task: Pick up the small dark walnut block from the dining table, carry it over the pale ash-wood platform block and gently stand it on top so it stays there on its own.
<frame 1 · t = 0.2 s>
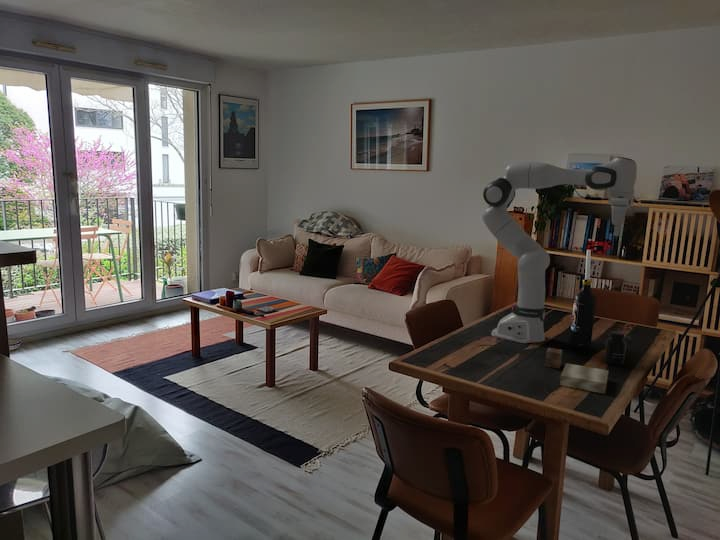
hand: (616, 234, 216), 48 cm above the table, tool pointing down, fingers open, 8 cm apart
ash platform: (584, 383, 188), on the table
walnut block: (552, 365, 204), on the table
supplement bottle: (613, 363, 209), on the table
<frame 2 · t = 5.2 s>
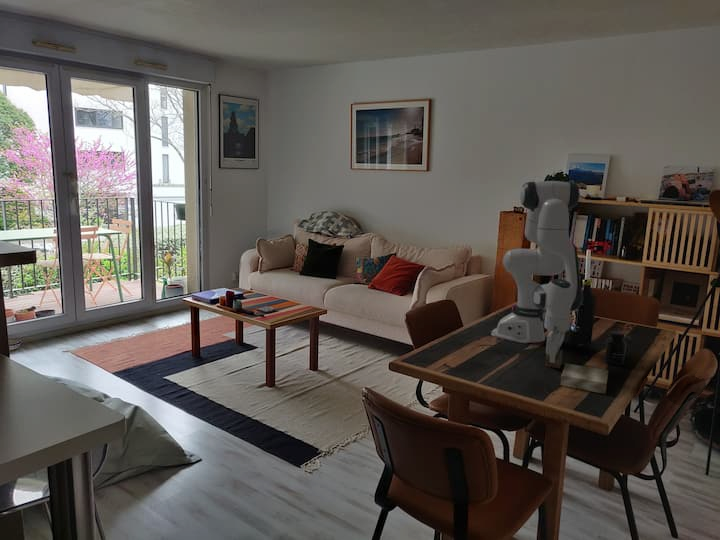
hand: (553, 359, 204), 2 cm above the table, tool pointing down, fingers closed on walnut block, 5 cm apart
walnut block: (553, 365, 204), on the table, touching gripper
everything else where it was.
when the fingers open (7 cm above the table, at t = 12.9 s): walnut block drops 1 cm, point 3 cm above the table.
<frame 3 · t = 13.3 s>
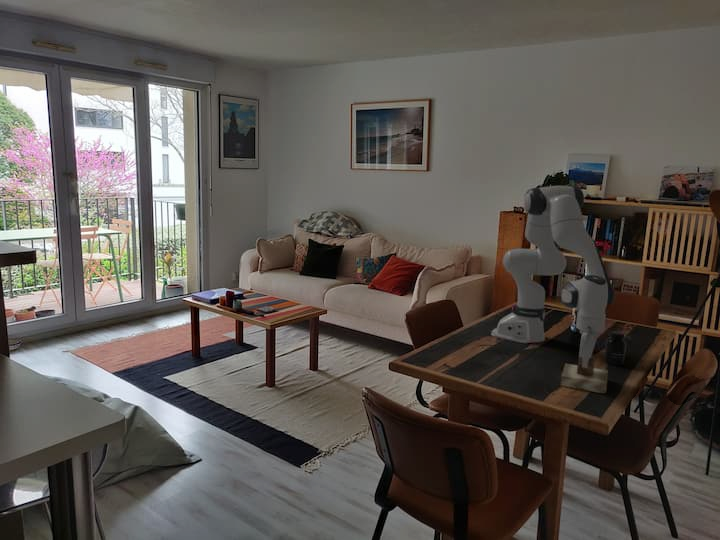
hand: (586, 362, 187), 7 cm above the table, tool pointing down, fingers open, 8 cm apart
walnut block: (585, 372, 188), point 3 cm above the table
everything else where it was.
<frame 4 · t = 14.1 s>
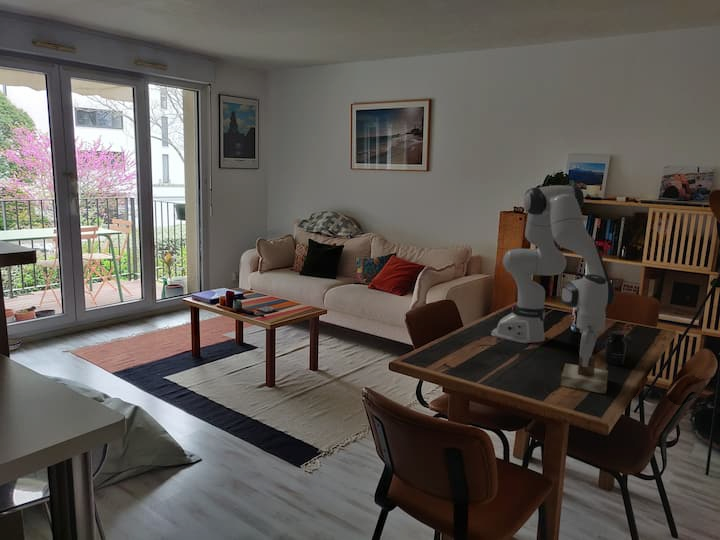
hand: (586, 362, 187), 7 cm above the table, tool pointing down, fingers open, 8 cm apart
nothing on the table moved.
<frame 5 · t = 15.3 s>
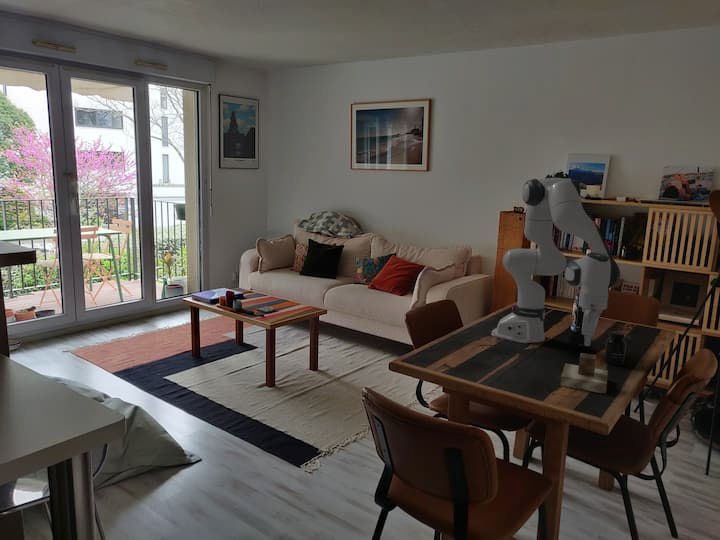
hand: (588, 341, 186), 15 cm above the table, tool pointing down, fingers open, 8 cm apart
ash platform: (583, 384, 188), on the table, touching walnut block
walnut block: (586, 372, 188), point 3 cm above the table, touching ash platform
everything else where it was.
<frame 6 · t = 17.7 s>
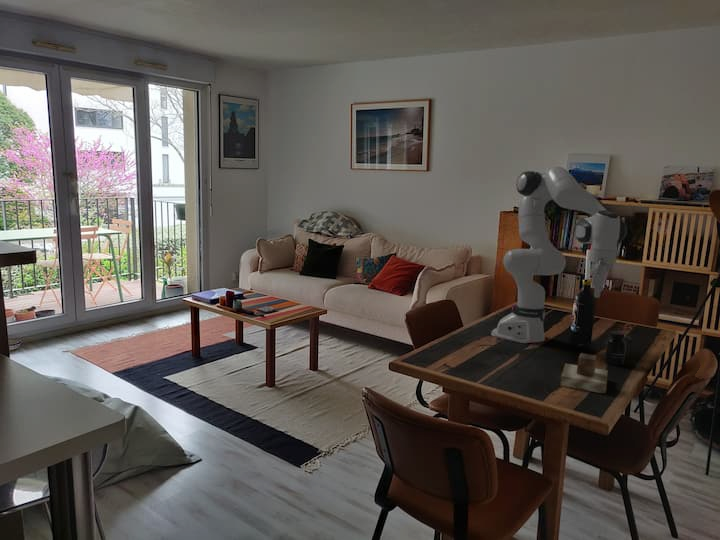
hand: (598, 294, 198), 28 cm above the table, tool pointing down, fingers open, 8 cm apart
nothing on the table moved.
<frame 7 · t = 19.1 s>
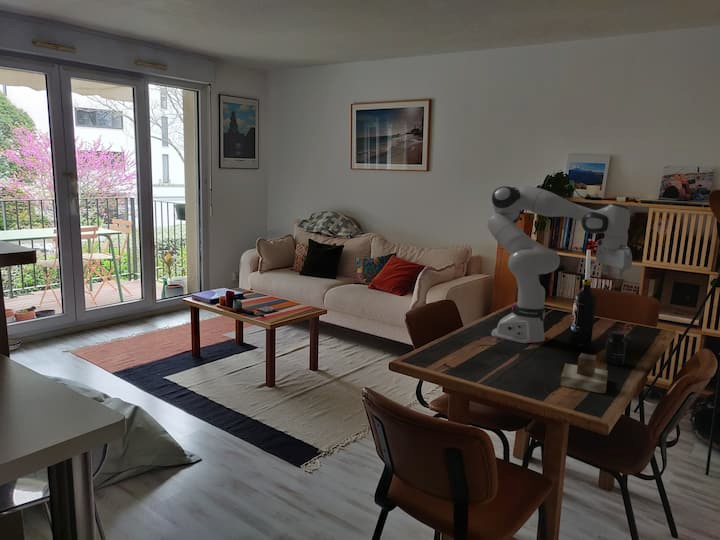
hand: (611, 276, 228), 29 cm above the table, tool pointing down, fingers open, 8 cm apart
nothing on the table moved.
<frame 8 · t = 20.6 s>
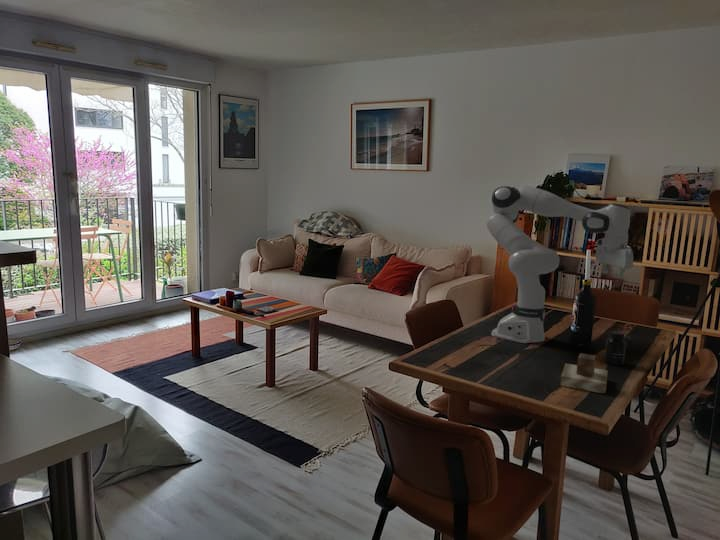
hand: (612, 275, 230), 29 cm above the table, tool pointing down, fingers open, 8 cm apart
nothing on the table moved.
at the end: walnut block point 3.4 cm above the table; walnut block 0.2 cm from the ash platform (horizontally); walnut block tilted 0° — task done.
